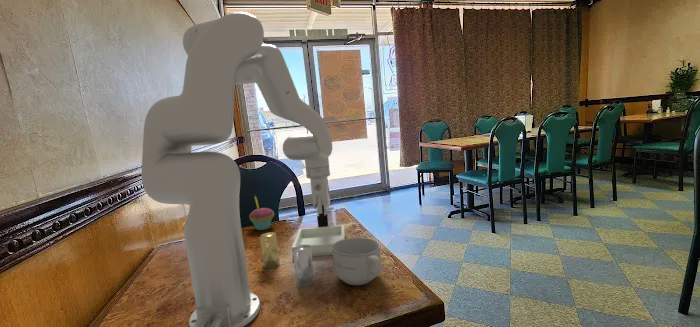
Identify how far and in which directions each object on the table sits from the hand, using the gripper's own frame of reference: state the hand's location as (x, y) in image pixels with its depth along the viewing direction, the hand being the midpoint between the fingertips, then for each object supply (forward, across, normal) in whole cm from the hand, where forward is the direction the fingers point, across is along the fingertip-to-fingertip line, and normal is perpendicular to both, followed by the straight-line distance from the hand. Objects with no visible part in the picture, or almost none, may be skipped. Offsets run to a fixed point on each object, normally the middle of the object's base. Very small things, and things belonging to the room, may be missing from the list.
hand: (323, 226), depth 99 cm
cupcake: (+2, +8, +22) cm, 24 cm away
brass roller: (+1, -22, +12) cm, 25 cm away
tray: (+1, -12, 0) cm, 12 cm away
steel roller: (+1, -32, +2) cm, 32 cm away
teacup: (+2, -33, -10) cm, 35 cm away
